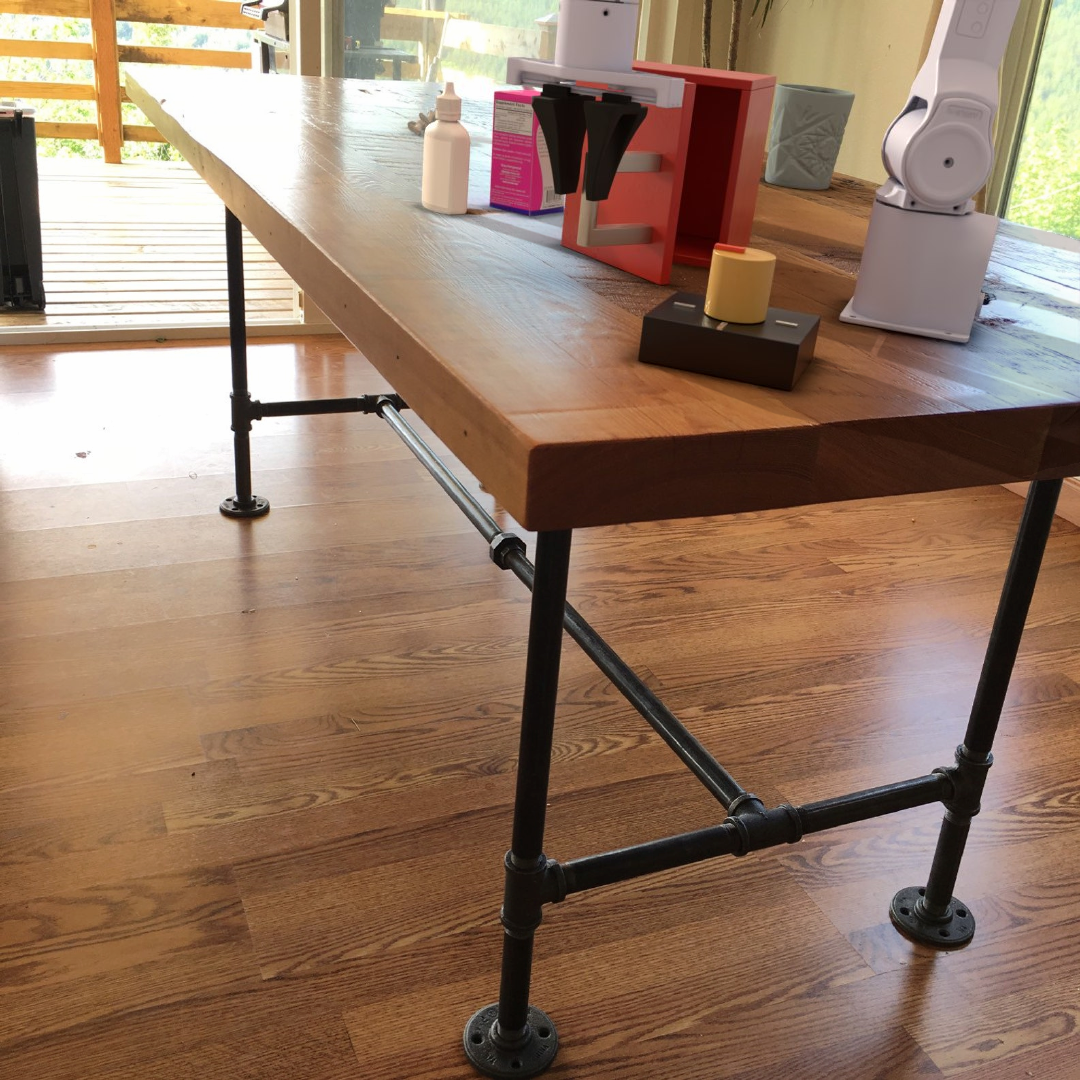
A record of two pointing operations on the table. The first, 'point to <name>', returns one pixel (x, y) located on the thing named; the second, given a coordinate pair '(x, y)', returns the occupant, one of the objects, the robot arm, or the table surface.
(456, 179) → the eye dropper bottle
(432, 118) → the soldier figure
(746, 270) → the knob
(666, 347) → the panel
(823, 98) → the grey green vase
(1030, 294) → the table surface
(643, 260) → the red door with handle
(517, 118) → the supplement box
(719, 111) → the cabinet
